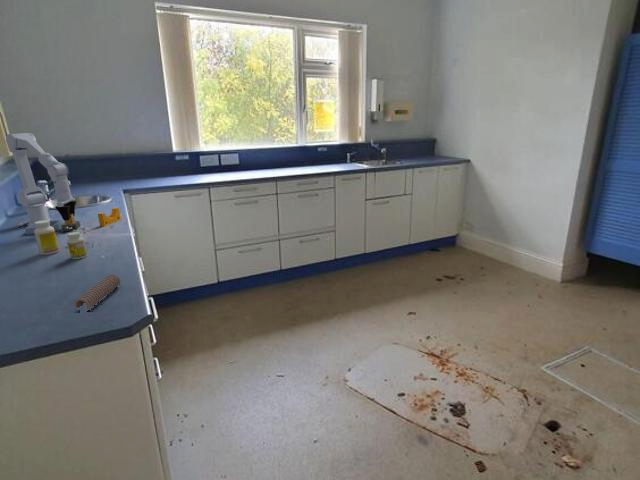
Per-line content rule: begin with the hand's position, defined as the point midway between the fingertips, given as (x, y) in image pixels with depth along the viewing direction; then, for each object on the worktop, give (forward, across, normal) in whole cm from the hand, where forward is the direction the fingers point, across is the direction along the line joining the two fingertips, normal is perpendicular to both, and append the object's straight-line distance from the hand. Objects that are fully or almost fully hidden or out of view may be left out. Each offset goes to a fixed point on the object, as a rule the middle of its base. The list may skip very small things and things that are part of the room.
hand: (69, 218), depth 184 cm
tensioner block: (+5, -2, 0) cm, 5 cm away
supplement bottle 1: (+5, -36, -3) cm, 36 cm away
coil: (+6, -86, -33) cm, 92 cm away
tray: (+5, 0, +11) cm, 12 cm away
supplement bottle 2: (+5, -45, -16) cm, 48 cm away
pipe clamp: (+5, +5, -16) cm, 17 cm away
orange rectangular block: (+5, 0, 0) cm, 5 cm away
